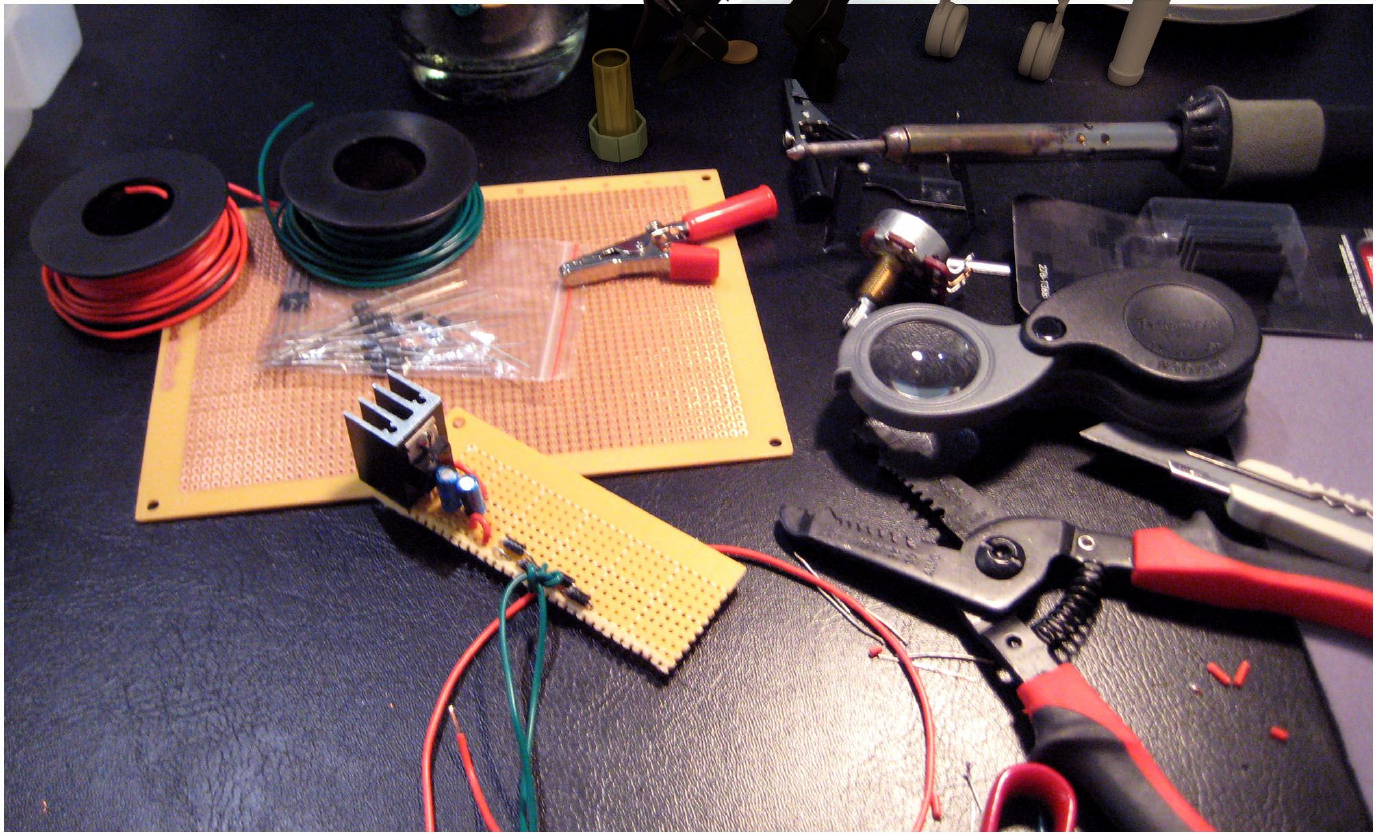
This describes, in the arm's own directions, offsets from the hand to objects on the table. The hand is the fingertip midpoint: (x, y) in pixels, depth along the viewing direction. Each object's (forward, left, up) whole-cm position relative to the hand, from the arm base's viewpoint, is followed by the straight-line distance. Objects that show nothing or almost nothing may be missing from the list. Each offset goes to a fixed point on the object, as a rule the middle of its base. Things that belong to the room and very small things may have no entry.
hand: (646, 65), depth 131 cm
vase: (+4, +4, -12) cm, 13 cm away
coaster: (-6, -26, -12) cm, 29 cm away
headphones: (-46, -34, -12) cm, 58 cm away
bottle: (-67, -36, -12) cm, 77 cm away
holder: (+4, +4, -12) cm, 13 cm away
